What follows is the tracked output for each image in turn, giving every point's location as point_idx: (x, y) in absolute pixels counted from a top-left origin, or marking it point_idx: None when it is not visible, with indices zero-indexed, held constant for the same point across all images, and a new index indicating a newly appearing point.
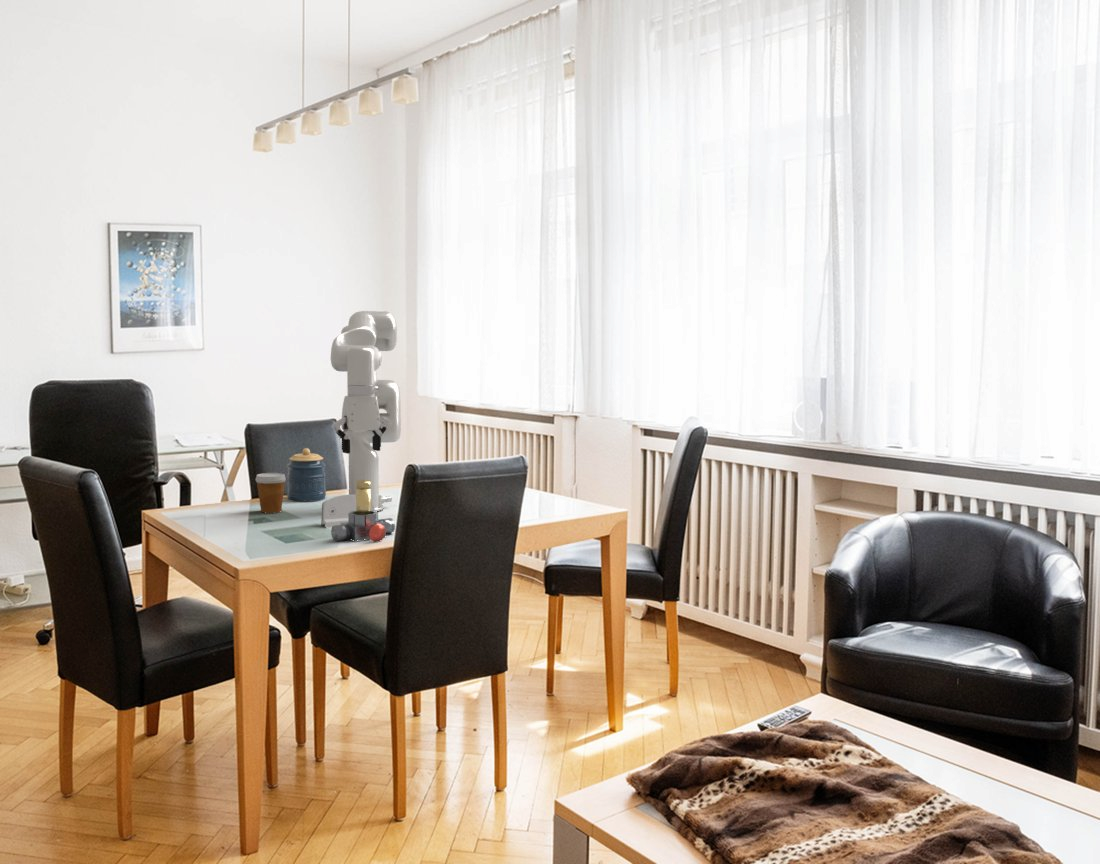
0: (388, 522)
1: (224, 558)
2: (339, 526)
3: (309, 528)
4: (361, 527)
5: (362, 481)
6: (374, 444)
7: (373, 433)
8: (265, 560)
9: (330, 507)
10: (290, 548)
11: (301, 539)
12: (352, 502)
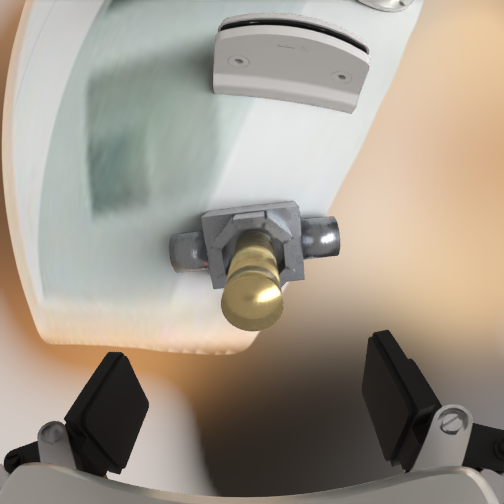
0: (322, 256)
1: (19, 275)
2: (180, 266)
3: (179, 81)
4: None
5: (245, 308)
6: (379, 385)
7: (425, 439)
8: (60, 318)
9: (233, 54)
10: (93, 263)
11: (124, 193)
12: (305, 55)
